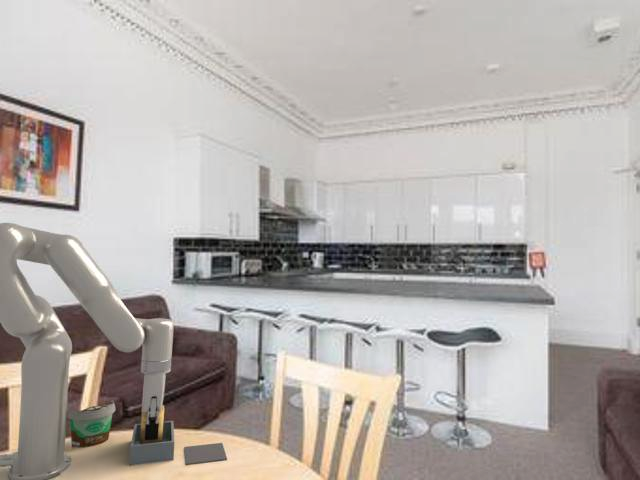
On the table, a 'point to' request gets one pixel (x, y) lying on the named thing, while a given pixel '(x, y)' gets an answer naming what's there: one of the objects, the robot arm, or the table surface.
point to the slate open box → (152, 446)
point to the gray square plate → (205, 453)
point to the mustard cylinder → (160, 430)
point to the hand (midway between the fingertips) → (151, 433)
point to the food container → (91, 425)
